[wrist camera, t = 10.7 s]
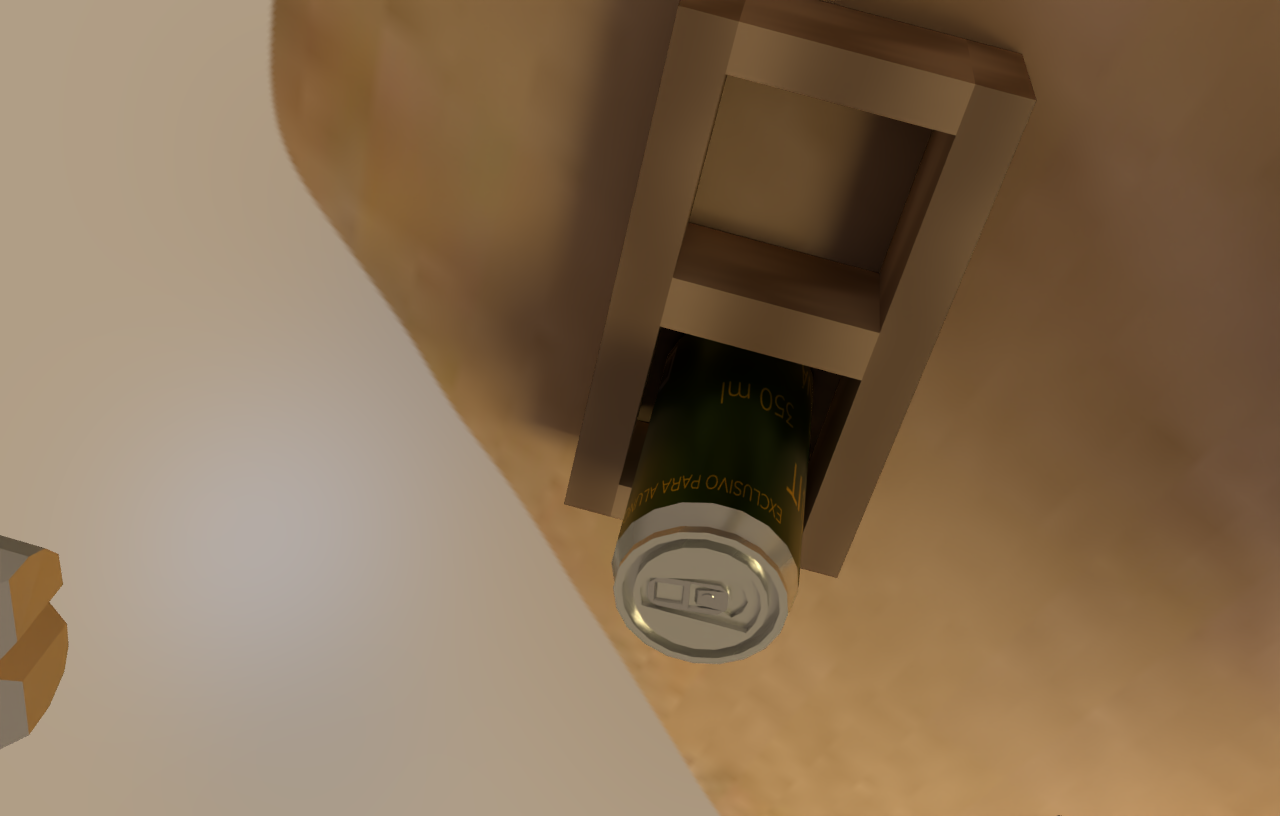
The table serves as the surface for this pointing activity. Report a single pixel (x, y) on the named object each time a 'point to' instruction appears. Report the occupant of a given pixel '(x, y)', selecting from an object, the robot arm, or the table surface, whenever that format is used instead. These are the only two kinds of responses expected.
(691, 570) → the beer can
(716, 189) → the table surface
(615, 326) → the shelf
